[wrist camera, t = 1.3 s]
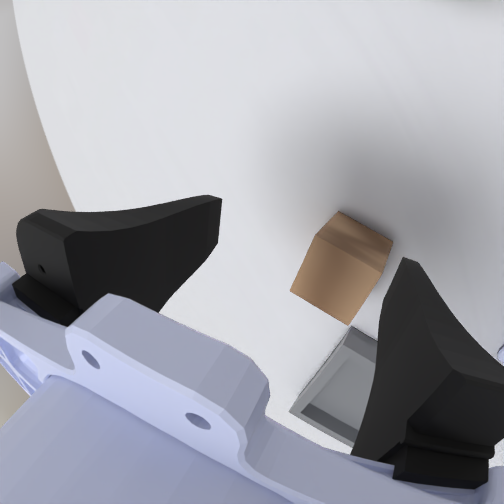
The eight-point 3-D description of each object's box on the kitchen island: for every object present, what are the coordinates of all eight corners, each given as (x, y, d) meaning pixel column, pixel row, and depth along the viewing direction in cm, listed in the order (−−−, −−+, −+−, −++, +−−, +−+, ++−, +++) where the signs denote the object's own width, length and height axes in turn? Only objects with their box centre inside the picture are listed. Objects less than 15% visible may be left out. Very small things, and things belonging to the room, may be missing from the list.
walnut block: (393, 241, 21) (382, 273, 17) (365, 288, 24) (348, 325, 20) (338, 210, 22) (315, 235, 18) (315, 259, 25) (289, 290, 21)
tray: (458, 388, 22) (456, 409, 20) (385, 444, 29) (380, 461, 27) (351, 326, 25) (342, 344, 23) (298, 395, 32) (288, 411, 30)
